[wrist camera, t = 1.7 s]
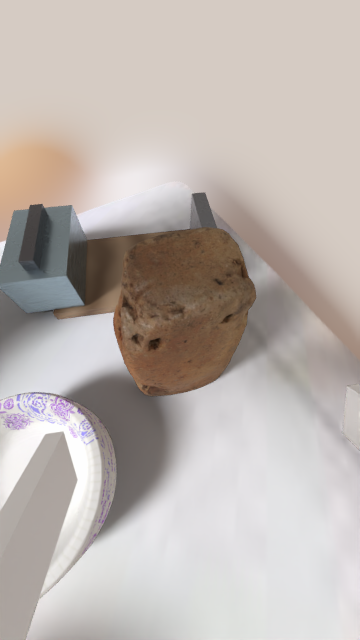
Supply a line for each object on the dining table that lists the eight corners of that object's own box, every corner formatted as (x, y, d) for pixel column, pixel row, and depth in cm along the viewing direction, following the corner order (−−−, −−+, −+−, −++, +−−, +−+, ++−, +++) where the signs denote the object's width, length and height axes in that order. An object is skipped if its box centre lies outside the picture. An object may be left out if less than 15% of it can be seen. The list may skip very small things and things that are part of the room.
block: (204, 333, 35) (231, 210, 17) (225, 383, 31) (284, 294, 14) (130, 354, 33) (75, 244, 16) (142, 410, 30) (91, 348, 12)
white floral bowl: (-40, 593, 22) (-140, 658, 15) (-8, 417, 29) (-66, 406, 22) (128, 554, 24) (108, 596, 17) (119, 394, 31) (102, 377, 24)
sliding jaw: (26, 313, 34) (-15, 275, 27) (37, 245, 40) (6, 200, 33) (84, 305, 35) (60, 266, 27) (87, 240, 41) (67, 194, 34)
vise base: (57, 319, 36) (26, 284, 28) (64, 249, 42) (39, 205, 35) (224, 297, 38) (235, 259, 30) (205, 234, 44) (210, 189, 37)
